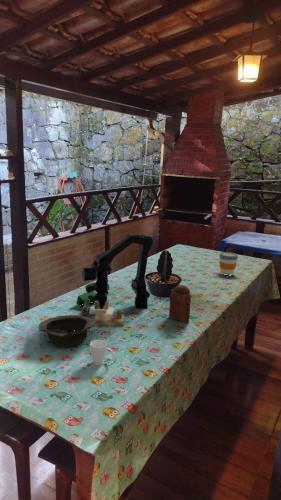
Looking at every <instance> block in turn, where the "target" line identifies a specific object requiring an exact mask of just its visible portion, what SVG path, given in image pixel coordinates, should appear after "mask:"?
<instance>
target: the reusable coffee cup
mask: <svg viewBox="0 0 281 500" xmlns="http://www.w3.org/2000/svg"><path fill="white" fill-rule="evenodd" d="M237 260H238V253H235V252H230V251H222V252H220V253H219V263H218V264H219V270H220V272H219V273H222V274H227V275H230V274H233V275H234V274H235V270H236V266H237Z"/></svg>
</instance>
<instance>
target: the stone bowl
mask: <svg viewBox="0 0 281 500" xmlns="http://www.w3.org/2000/svg"><path fill="white" fill-rule="evenodd" d="M95 322H96V321H95V320H93V319H91V318H89V317H86V316H82V315H80V314H79V315H78V314H71V315H69V314H68V315H58V316H54V317H48V318H47V319H45V320H43V321H41V322H39V324H38V331H41V332H43V333H45V334H46V336H47V337H48V339H49V341H51V342H52V343H53V344H54V343H55V344H56V347H57V348H60V349H62V348H71V347H77V346H78V345H80V344H81V341H84V340H86V339H87V337H88V330H89V329H92V328H94V326H97V325H96V324H97V323H95ZM72 330H75V331H72Z"/></svg>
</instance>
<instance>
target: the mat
mask: <svg viewBox="0 0 281 500" xmlns="http://www.w3.org/2000/svg"><path fill="white" fill-rule="evenodd" d="M114 310H115V309H114V307H109V308H108V310H100V309H95V306H91V307H90V309H89V314H114Z"/></svg>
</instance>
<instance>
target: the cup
mask: <svg viewBox="0 0 281 500" xmlns="http://www.w3.org/2000/svg"><path fill="white" fill-rule="evenodd" d="M89 348H90V354H91V355H90V356H91V359H92V360H91V361H92V364H93V365H95V366H101V365H108V364H109V363H111V362H112V361H113V360H114V358H115V354H114V351H113V350H112V348H110V347H108V342H107V341H105V340H104V339H94V340H91V341H90V342H89ZM107 351H109V352H110V353H111V357H112V358H111V360H109V361H107V362H104V361H105V357H106V352H107Z"/></svg>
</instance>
